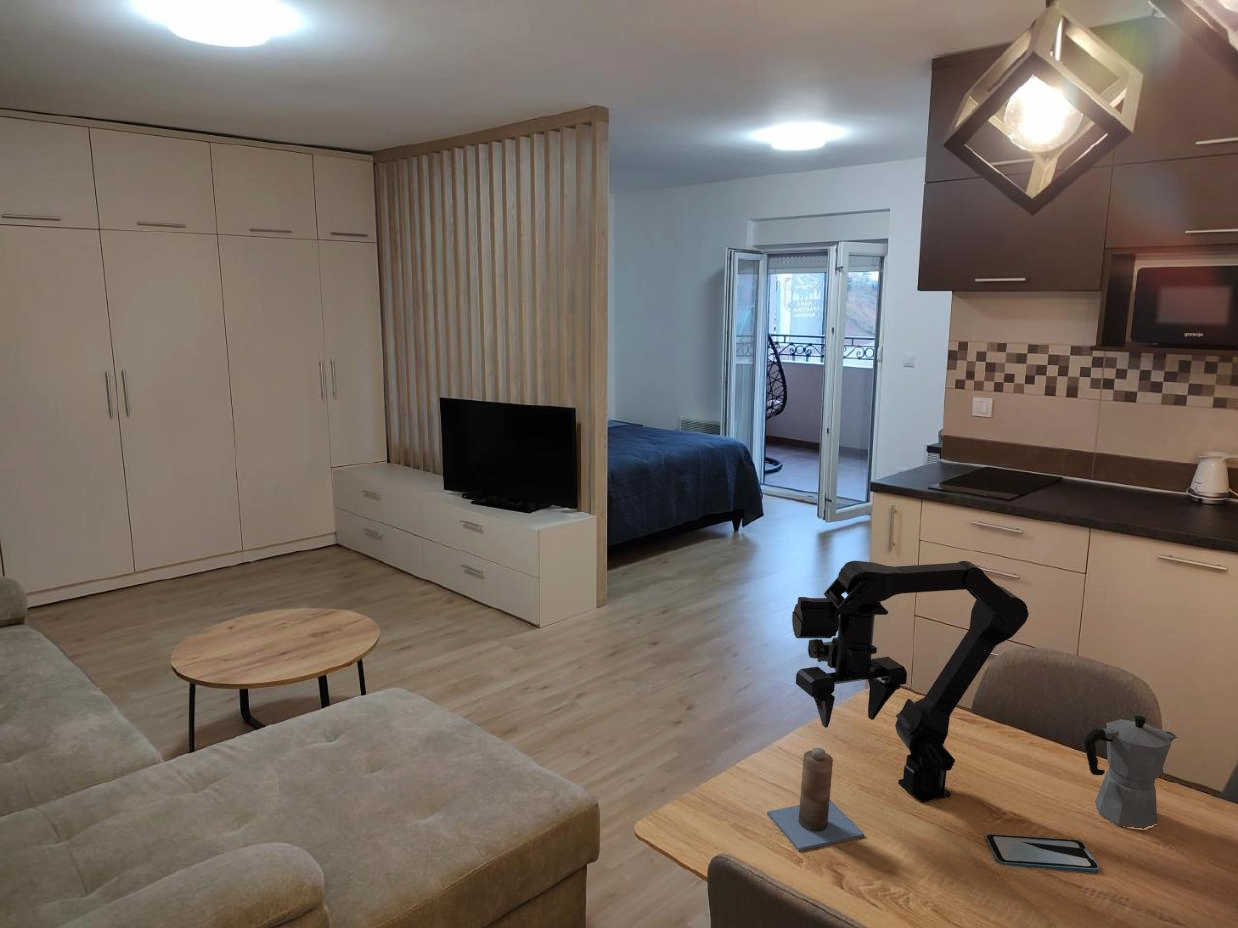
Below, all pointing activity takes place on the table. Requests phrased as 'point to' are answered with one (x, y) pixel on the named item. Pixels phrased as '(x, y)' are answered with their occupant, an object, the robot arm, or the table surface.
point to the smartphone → (1042, 853)
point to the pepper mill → (815, 790)
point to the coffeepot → (1129, 770)
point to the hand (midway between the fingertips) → (848, 722)
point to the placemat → (805, 839)
